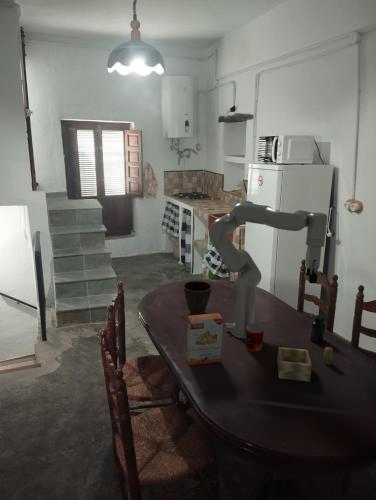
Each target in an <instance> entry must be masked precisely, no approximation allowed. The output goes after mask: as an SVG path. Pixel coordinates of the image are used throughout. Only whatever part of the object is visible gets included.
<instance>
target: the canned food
mask: <svg viewBox="0 0 376 500" xmlns="http://www.w3.org/2000/svg"><path fill="white" fill-rule="evenodd" d="M244 342H245V343H244V345H245V346H244V348H245V350H247V351H248V352H251V353H259V352H261V351H262V350H263V342H264V327H263V325H261V324H257V323H254V324H249V325H247V327H246V339H245V341H244Z"/></svg>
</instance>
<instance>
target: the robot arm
mask: <svg viewBox="0 0 376 500" xmlns="http://www.w3.org/2000/svg"><path fill="white" fill-rule="evenodd" d="M327 222H328V215H327V214H326V213H324V212H310V211H307V210H304V209H303V210H301V209H299V210H296V211H294V212H293V213H292V212H284V211H280V210H275V209H274V208H273V207H271V206H270V205H265V204H255V203H253V202H252V201H249V200H243V201H240V202H238V203H236V204H235V205H234V206H233V209H232V210H230V211H229V212H228V213H226V214H224V215H223V216H220V217H218V218H216V219H214V221H213V222H212V223H211V225H210V226H209V229H208V238H209V241H210V243H211V245H212V246H213V247H214V250H215V251H216V253H217V254H218V255H219V257H220V259H221V260H222V262H223V264H224V265H225V267H226V269H227V270H228V271H229V272H230V273H233V274H234V273H238V272H239V273H240V274H239V275H237V278H236V279H235V282H234V289H235V290H234V292H235V306H234V321H233V322H231V323H229V322H225V323H224V324H225V326H224V328H226V329H228V330H230V333H231V334H232V336H233V337H235V338H238V339H243V340H246V327H247V325H249V324H255V315H256V314H255V313H256V288H257V286H258V285H259V284H260V282H261V280H262V273H261V271H260V269H259V267H258V266H257V264H256V262H255V261H254V260H253V258H252V257H251V255H250V253H249V252H248V251H247V250H245V249H243V248H236V247H235V244H234V243H233V242H232V240H231V239H230V238H229V237H228V234H230V233H231V232H233V231H235V230H236V229H237V228H239V227H240V226H242V225H243V224H244V223H251V224H257V225H258V224H259V225H265V226H267V227H271V228H274V229H276V230H277V229H278V230H282V231H290V232H300V231H302V230H303V229H304V228H307V231H306V238H305V239H306V241H305V245H306V251H305V252H306V254H305V260H304V263H305V266H306V271H305V275H306V276H308V277H309V278H308V283H309V284H317V282H318V274H319V272H318V270H319V269H320V265H321V254H322V248H323V247H325V242H326V234H327V233H326V232H327V225H328V223H327Z"/></svg>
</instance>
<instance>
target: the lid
mask: <svg viewBox="0 0 376 500" xmlns="http://www.w3.org/2000/svg"><path fill="white" fill-rule="evenodd" d="M333 351H334V350H333V348H332V347H330V346H326V347H324V351H323V360H322V361H323V362H322V363H323V364H324V365H325V366H331V365H332V361H333V360H332V359H333Z"/></svg>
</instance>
